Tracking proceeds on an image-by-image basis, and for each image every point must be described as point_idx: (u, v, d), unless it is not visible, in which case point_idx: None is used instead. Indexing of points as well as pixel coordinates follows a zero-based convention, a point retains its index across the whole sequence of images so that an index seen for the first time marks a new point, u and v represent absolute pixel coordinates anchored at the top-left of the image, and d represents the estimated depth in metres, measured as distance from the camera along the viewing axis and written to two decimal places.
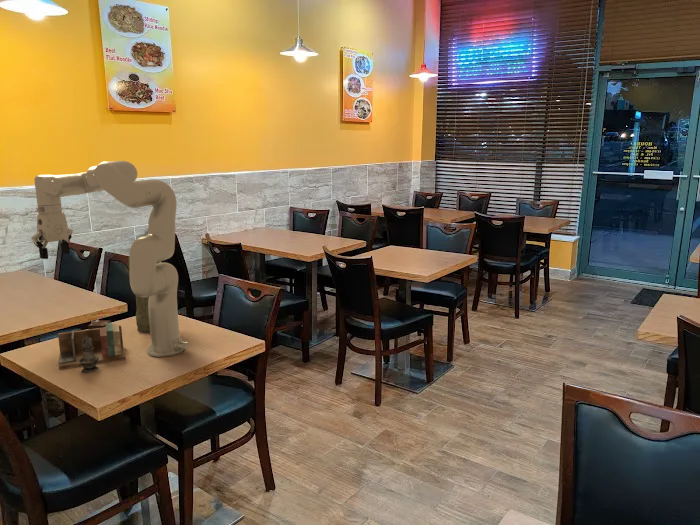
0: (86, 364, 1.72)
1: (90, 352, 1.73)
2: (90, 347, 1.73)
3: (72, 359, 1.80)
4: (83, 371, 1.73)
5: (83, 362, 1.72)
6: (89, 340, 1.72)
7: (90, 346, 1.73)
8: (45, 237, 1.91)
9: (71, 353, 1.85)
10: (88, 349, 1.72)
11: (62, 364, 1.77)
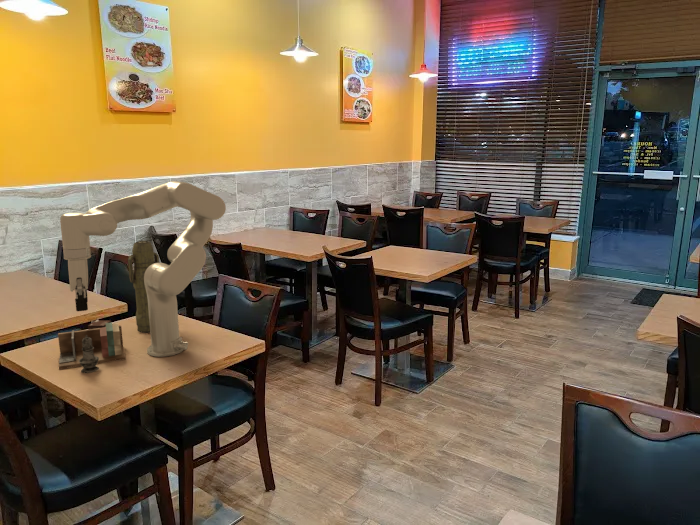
0: (86, 364, 1.72)
1: (90, 352, 1.73)
2: (90, 347, 1.73)
3: (72, 359, 1.80)
4: (83, 371, 1.73)
5: (83, 362, 1.72)
6: (89, 340, 1.72)
7: (90, 346, 1.73)
8: None
9: (71, 353, 1.85)
10: (88, 349, 1.72)
11: (62, 364, 1.77)
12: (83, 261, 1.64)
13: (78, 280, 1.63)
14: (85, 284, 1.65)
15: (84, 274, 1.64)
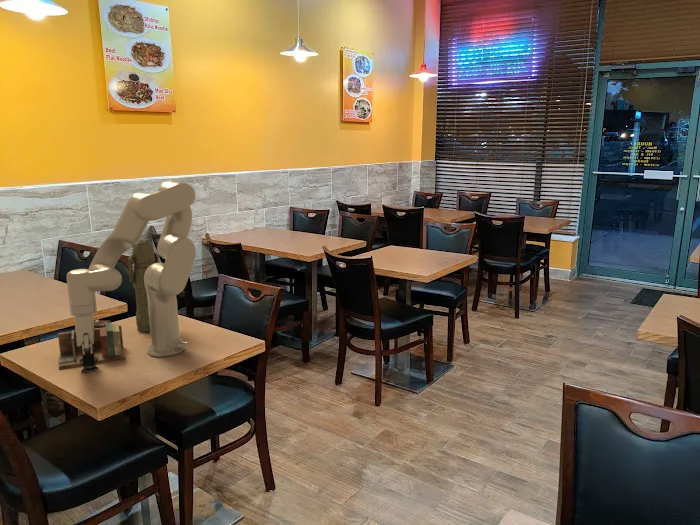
0: None
1: None
2: None
3: (72, 359, 1.80)
4: (83, 371, 1.73)
5: None
6: None
7: None
8: None
9: (71, 353, 1.85)
10: None
11: (62, 364, 1.77)
12: (89, 317, 1.68)
13: (85, 338, 1.67)
14: (91, 339, 1.69)
15: (90, 329, 1.68)
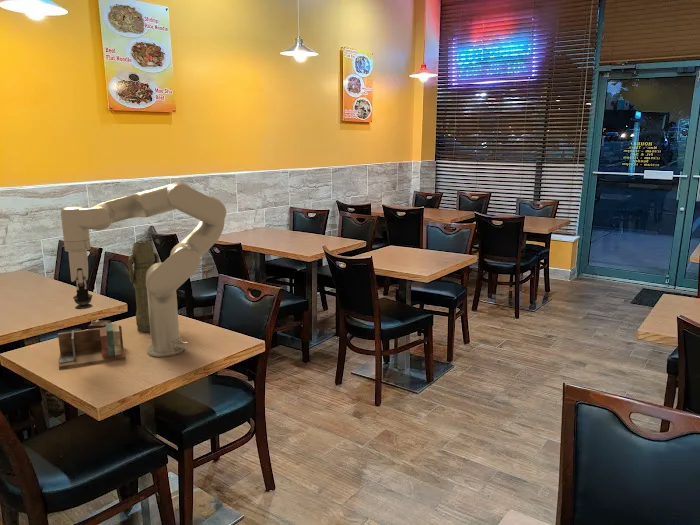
0: None
1: None
2: None
3: (72, 359, 1.80)
4: (77, 307, 1.77)
5: None
6: None
7: None
8: None
9: (71, 353, 1.85)
10: None
11: (62, 364, 1.77)
12: (83, 252, 1.72)
13: (79, 273, 1.72)
14: (85, 274, 1.73)
15: (84, 265, 1.73)
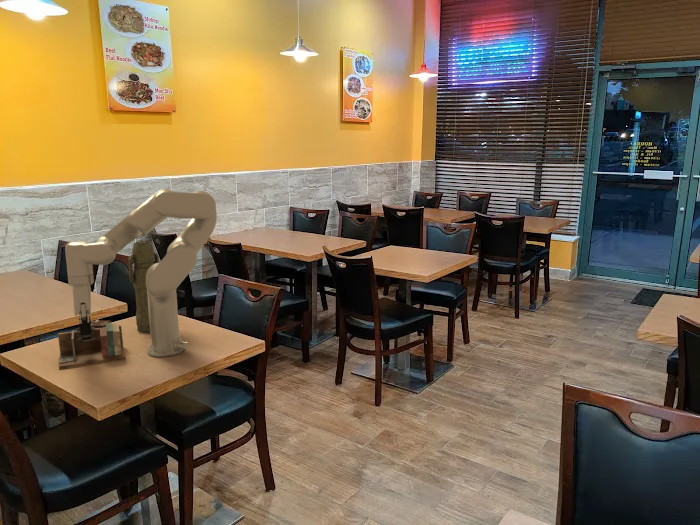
0: None
1: None
2: None
3: (72, 359, 1.80)
4: (80, 340, 1.80)
5: None
6: None
7: None
8: None
9: (71, 353, 1.85)
10: None
11: (62, 364, 1.77)
12: (86, 287, 1.75)
13: (82, 307, 1.74)
14: (88, 308, 1.76)
15: (87, 299, 1.75)
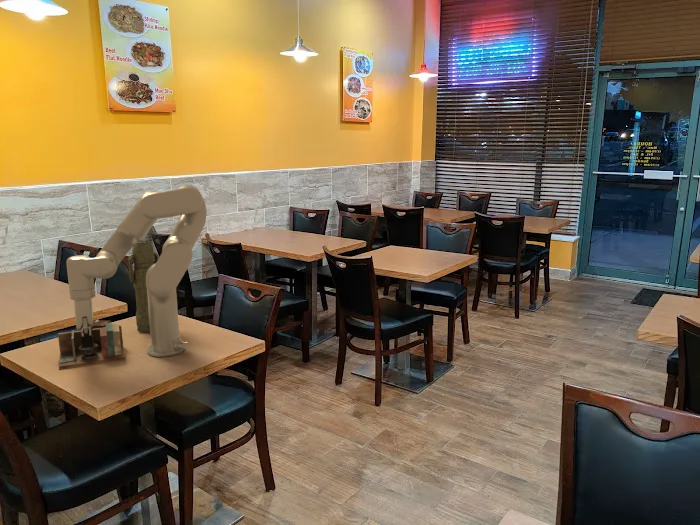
0: (86, 350, 1.80)
1: None
2: None
3: (72, 359, 1.80)
4: (83, 357, 1.81)
5: (83, 349, 1.80)
6: None
7: None
8: None
9: (71, 353, 1.85)
10: None
11: (62, 364, 1.77)
12: (88, 301, 1.76)
13: (84, 319, 1.75)
14: (90, 322, 1.77)
15: (89, 313, 1.76)
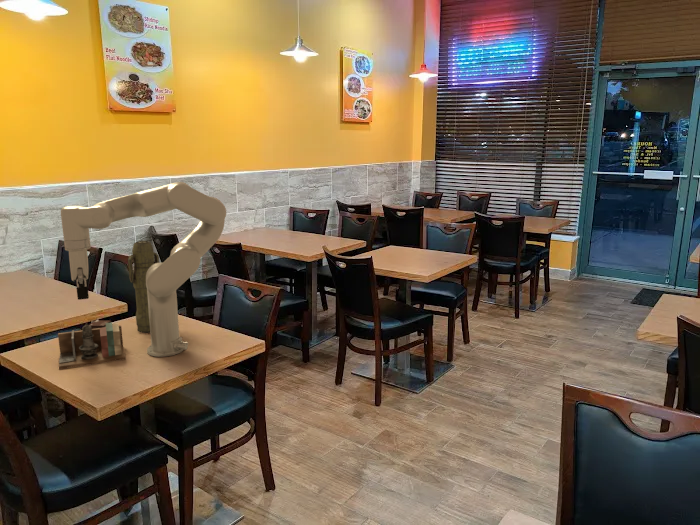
0: (86, 350, 1.80)
1: (90, 339, 1.81)
2: (90, 334, 1.81)
3: (72, 359, 1.80)
4: (83, 357, 1.81)
5: (83, 349, 1.80)
6: (89, 328, 1.80)
7: (90, 334, 1.81)
8: None
9: (71, 353, 1.85)
10: (88, 336, 1.80)
11: (62, 364, 1.77)
12: (83, 252, 1.72)
13: (79, 270, 1.71)
14: (85, 273, 1.73)
15: (84, 264, 1.72)
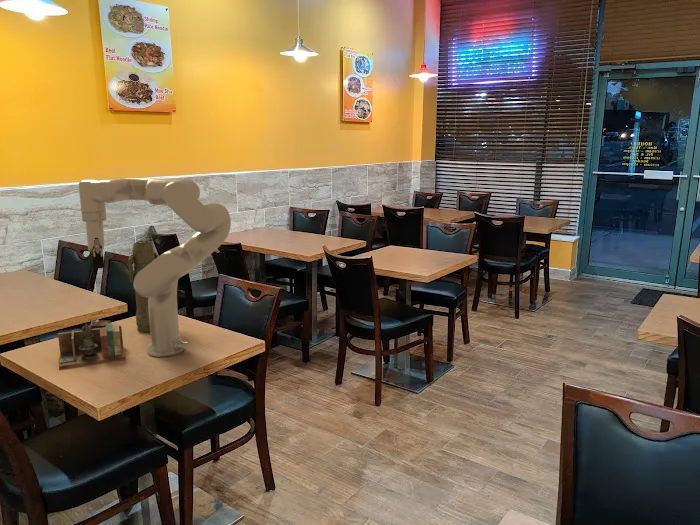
0: (86, 350, 1.80)
1: (90, 339, 1.81)
2: (90, 334, 1.81)
3: (72, 359, 1.80)
4: (83, 357, 1.81)
5: (83, 349, 1.80)
6: (89, 328, 1.80)
7: (90, 334, 1.81)
8: None
9: (71, 353, 1.85)
10: (88, 336, 1.80)
11: (62, 364, 1.77)
12: (100, 223, 1.81)
13: (95, 240, 1.80)
14: (102, 244, 1.82)
15: (101, 235, 1.82)
